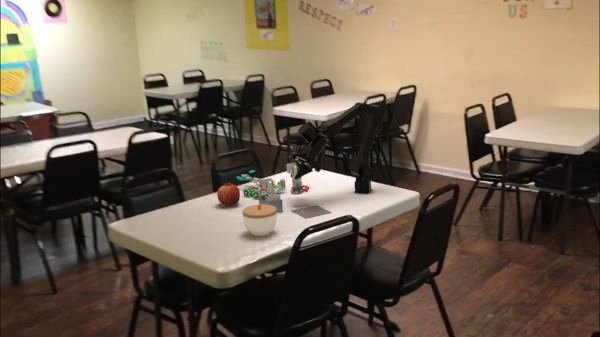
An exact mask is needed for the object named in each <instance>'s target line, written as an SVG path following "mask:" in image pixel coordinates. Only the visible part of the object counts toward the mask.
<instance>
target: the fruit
mask: <svg viewBox="0 0 600 337" xmlns="http://www.w3.org/2000/svg"><path fill="white" fill-rule="evenodd" d="M216 194H217V199H218V200H217V201H218V202H219V203H220V204H222V205H224V206H228V207H229V206H235V205H237V204H238V203H239V201H240V197H241V192H240V189H239V187H238V186H237V185H235V184H234V183H233V184H232V182H231V181H230V182H226V183H224V185H222V186H220V187H219V188H218V189H217V193H216Z"/></svg>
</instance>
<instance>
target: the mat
mask: <svg viewBox="0 0 600 337" xmlns="http://www.w3.org/2000/svg"><path fill="white" fill-rule="evenodd" d="M290 211H291V212H293V213H295V214H296V215H298V214H299V215H298V216H300V217H302V218H304V219H309V218H315V217H321V216H323V215H328V214H332V212H331V211H330V210H328V209H327V208H326V209H325V208H324V207H321V206H320V205H318V204H314V205H309V206H305V207H300V208H295V209H292V210H290Z"/></svg>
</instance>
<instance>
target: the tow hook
mask: <svg viewBox="0 0 600 337" xmlns="http://www.w3.org/2000/svg"><path fill="white" fill-rule="evenodd" d="M304 187H305V188H304ZM300 189H301V190H303V193H304V191H305V192H308V191H309V190H310V186H309V185H305V184H303V181H302V177H300ZM291 190H293V185H292V186H291V187H290V191H291Z"/></svg>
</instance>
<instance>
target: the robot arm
mask: <svg viewBox="0 0 600 337" xmlns="http://www.w3.org/2000/svg"><path fill="white" fill-rule="evenodd" d="M362 114H365V122H366V124H365V128H364V131H363V132H364V133H363V136H362V138H361V142H360V145H359V149H358V153H357V155H356V156H355V157H351V160H350V164H349V171H350V172H351V174H352V175H353V176H352V177H353V178H355V181H354V193H356V194H364V195H365V194H367V195H368V194H370V193H371V192H372V191H373V188H372V180H373V179H374V177H375V175H374V173H373V172H372V171H371V170H370V168H371V167H370V165H371V164H370V159H369V158H370V154H371V150H372V147H373V144H374V139H375V137H376V132H377V129H378V127H379V125H380V124H381V123H382V122H383V120H384V117H385V116H386V109H385V108H384V106H381V105H378V104H377V105H376V104H367V103H365V102H361V101H358V102H356V103H354V105H353V106H351V107H350V108H348V109H347V110H345V111H344V112H341V113H340V115H338V116H337V117H335V118H333V119H329V120H326V121H324V122H323V123H321V124H320V125H319V126H315V125H314V124H313V123H312V122H311V121H308V120H307V122H306V123H303V124H302V125H301V126H300V127H299V128H298V130H297V133H298V134H299V135H300V136H301V138H303V139H304V140H305V141H306V142H308V143H309V144H308V145H307V144H306V145H304V144H302V145H301V146H300V145H297V144H292V147H291V150H290V151H291V152H290V154H289V156H288V157H289V158H290V159H291V160H292V161H293V162H292V163H295V162H296V163H298V165H299V171H298V172H297V174H296V176H295V178H294V179H296V180H297V179H299V178H300V177H301V178H303V177H304V176H306V175H308V174H310V173H313V172H314V171H315V172H317V173H320V172H321V170H322V165H321V164H320V163H319V162H317V161H316V159H317V158H320V157H321V154H320V153H321V152H322V151H323V149H324V148H325V147H326V146H327V147H331V146H332V144H331V139H333V138H335V137H336V136H337V135H338V134H339V133H340V132H341V130H342V128H343V127H344V126H346V125H347V124H349V123H350V122H352V121H353V120H355V119H356V118H357V117H358V116H360V115H362ZM328 138H329V139H328ZM290 178H291V179H292V173H290Z"/></svg>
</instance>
